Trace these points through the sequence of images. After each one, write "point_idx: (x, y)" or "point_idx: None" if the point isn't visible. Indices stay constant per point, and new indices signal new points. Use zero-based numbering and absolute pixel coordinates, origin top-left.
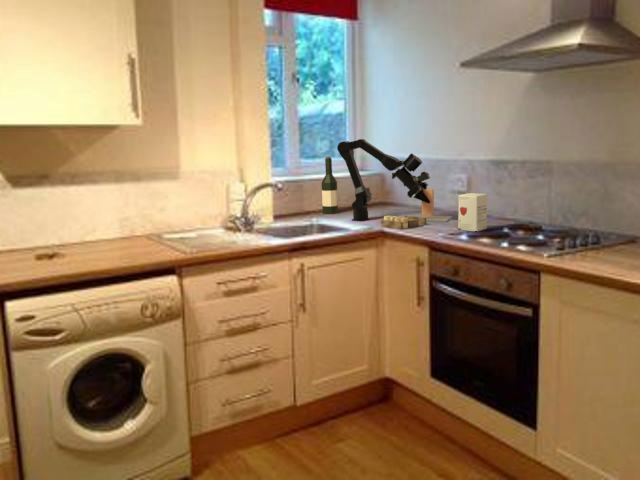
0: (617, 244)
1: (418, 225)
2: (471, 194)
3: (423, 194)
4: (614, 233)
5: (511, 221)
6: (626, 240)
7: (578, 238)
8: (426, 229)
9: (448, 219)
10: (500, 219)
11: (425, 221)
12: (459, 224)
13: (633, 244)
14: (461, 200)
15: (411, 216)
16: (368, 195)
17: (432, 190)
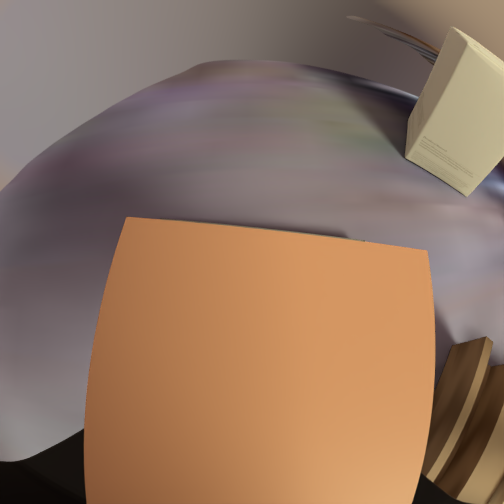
0: (432, 48)
1: (494, 366)
2: (502, 62)
3: (423, 490)
4: (361, 21)
5: (246, 61)
6: (404, 34)
7: (421, 53)
8: (494, 323)
9: (296, 232)
10: (197, 77)
11: (475, 343)
12: (478, 181)
13: (423, 41)
14: None
15: (441, 457)
16: None
17: (377, 257)
